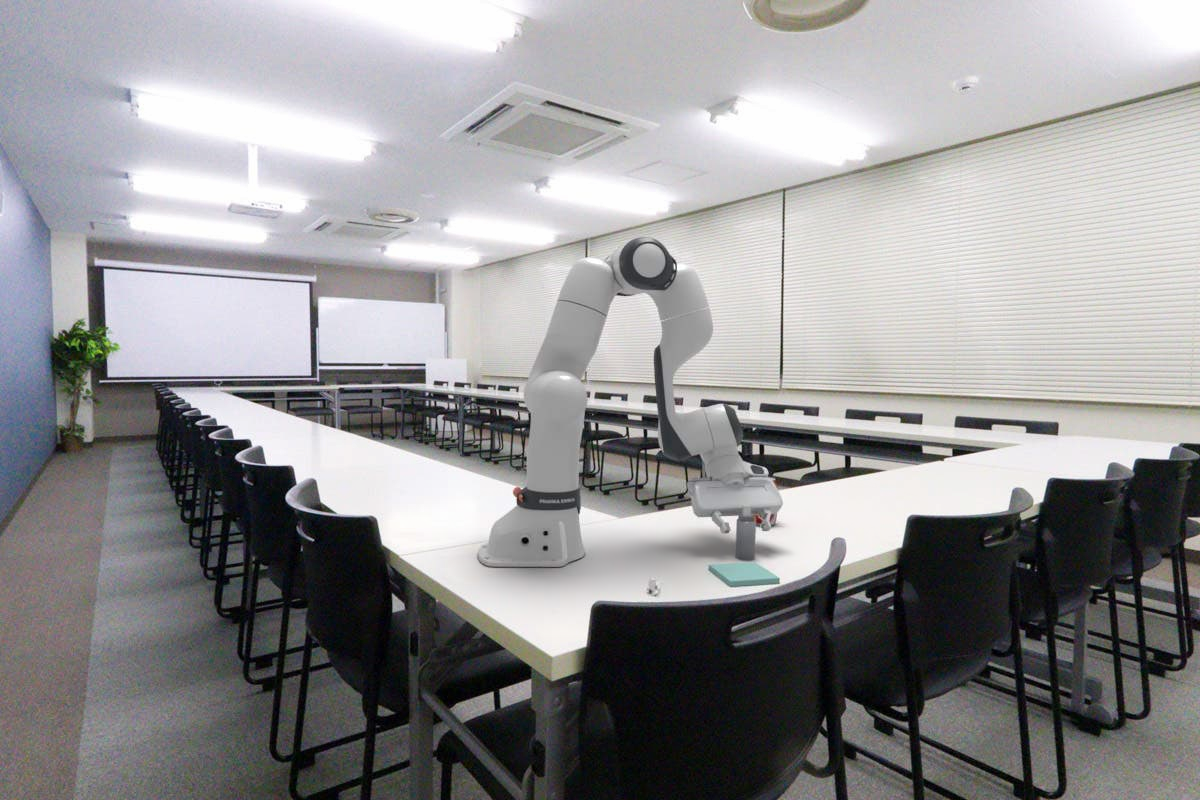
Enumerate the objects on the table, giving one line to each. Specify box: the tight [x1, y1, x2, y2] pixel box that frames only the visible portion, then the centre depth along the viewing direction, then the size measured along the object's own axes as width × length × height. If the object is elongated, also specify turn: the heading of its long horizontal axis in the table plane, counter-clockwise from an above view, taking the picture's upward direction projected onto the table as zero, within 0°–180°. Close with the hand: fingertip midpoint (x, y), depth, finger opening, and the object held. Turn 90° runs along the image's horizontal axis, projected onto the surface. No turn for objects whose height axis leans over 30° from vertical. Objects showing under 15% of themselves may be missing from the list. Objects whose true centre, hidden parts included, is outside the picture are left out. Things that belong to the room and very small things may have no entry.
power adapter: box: [646, 577, 662, 597], centre depth 112 cm, size 3×3×3 cm
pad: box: [708, 561, 781, 588], centre depth 122 cm, size 10×10×1 cm
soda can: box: [752, 476, 779, 527], centre depth 163 cm, size 7×7×12 cm
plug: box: [735, 505, 757, 562], centre depth 133 cm, size 4×4×11 cm
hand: (746, 531), depth 133 cm, fingers open, 8 cm apart
